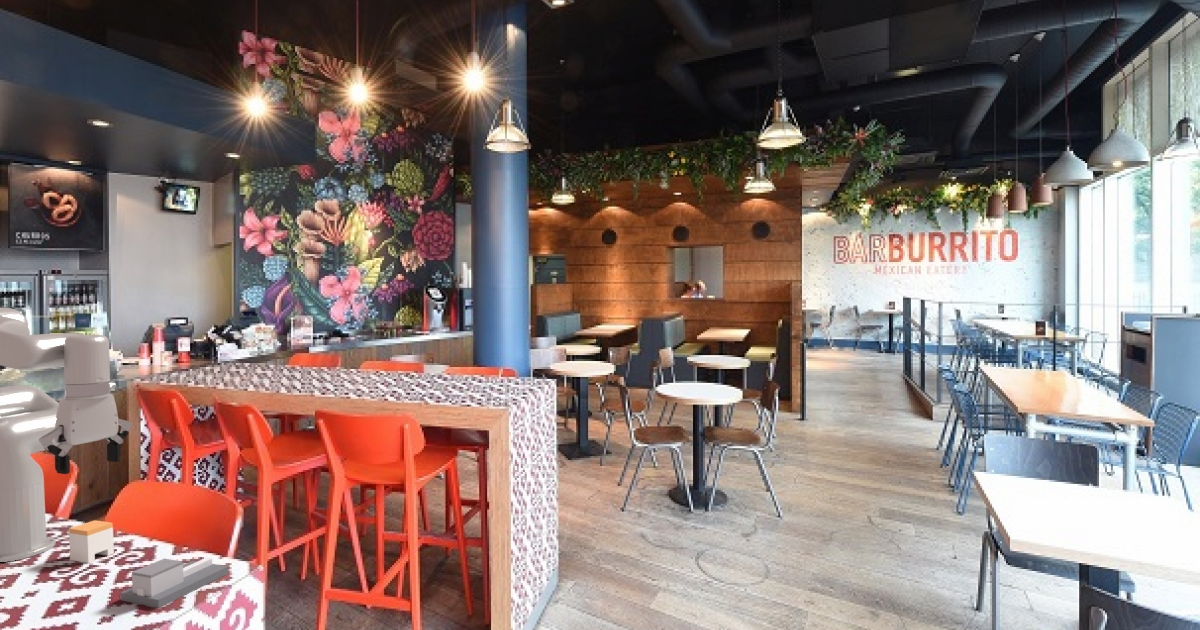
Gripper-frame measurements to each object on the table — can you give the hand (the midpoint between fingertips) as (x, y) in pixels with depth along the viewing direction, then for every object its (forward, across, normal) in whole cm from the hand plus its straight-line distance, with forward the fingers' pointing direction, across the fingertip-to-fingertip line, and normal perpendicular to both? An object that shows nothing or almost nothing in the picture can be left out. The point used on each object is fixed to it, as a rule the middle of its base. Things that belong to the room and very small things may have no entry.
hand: (89, 467), depth 129 cm
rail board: (+19, +4, +33) cm, 39 cm away
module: (+20, 0, 0) cm, 20 cm away
